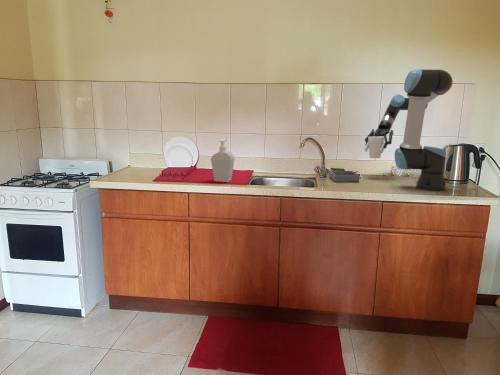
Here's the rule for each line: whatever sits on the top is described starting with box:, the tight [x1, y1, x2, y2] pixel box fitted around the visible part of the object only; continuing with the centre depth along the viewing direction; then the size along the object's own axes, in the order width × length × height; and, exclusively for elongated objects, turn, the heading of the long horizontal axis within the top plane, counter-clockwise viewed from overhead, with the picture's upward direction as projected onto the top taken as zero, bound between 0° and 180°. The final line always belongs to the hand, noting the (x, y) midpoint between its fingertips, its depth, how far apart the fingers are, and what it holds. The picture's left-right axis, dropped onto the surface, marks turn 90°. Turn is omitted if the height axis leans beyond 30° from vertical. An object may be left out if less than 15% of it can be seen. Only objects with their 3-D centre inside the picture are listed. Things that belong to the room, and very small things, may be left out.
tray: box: [328, 170, 360, 183], centre depth 237 cm, size 15×15×4 cm
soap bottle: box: [210, 138, 235, 183], centre depth 228 cm, size 12×10×26 cm
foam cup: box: [368, 136, 385, 159], centre depth 237 cm, size 10×9×13 cm
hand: (373, 151), depth 235 cm, fingers closed on foam cup, 9 cm apart
